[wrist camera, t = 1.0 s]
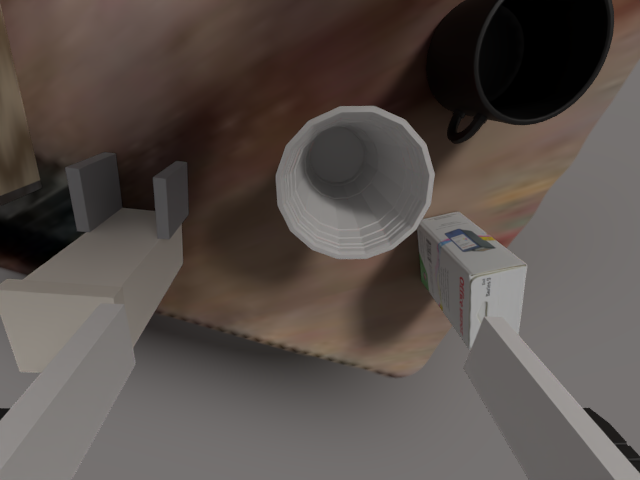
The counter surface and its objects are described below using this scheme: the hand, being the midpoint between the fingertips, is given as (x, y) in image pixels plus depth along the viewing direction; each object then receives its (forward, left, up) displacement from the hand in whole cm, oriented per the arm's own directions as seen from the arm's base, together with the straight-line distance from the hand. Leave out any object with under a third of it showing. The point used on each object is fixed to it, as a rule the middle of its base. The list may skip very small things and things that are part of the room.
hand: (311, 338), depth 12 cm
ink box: (+7, +17, -24) cm, 30 cm away
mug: (-11, +14, -24) cm, 30 cm away
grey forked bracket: (+6, -15, -24) cm, 28 cm away
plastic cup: (-2, +3, -24) cm, 24 cm away
